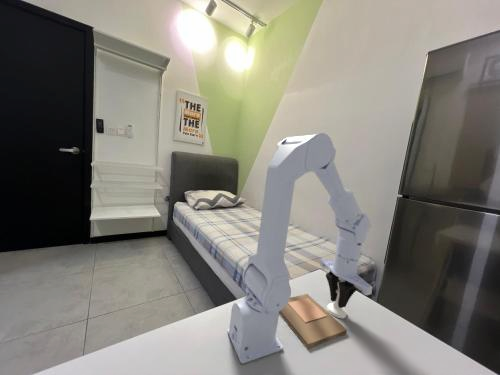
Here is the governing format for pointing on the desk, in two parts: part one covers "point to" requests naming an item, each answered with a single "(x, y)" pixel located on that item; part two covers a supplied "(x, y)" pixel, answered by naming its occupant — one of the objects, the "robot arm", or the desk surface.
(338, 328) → the walnut board
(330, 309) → the chess piece
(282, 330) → the desk surface
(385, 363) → the desk surface
